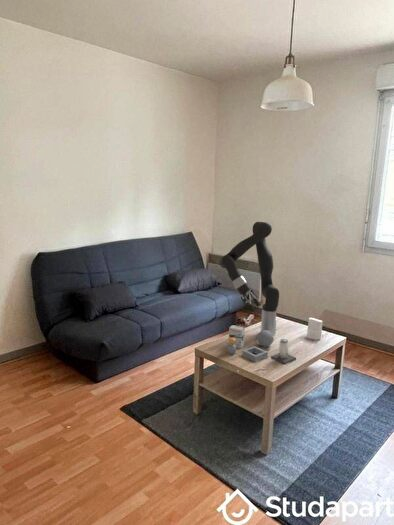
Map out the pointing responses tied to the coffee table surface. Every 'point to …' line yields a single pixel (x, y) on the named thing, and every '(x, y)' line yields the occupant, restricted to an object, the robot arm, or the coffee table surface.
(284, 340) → the cylinder
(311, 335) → the white upright block
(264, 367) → the coffee table surface
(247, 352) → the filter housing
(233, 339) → the plunger
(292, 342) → the coffee table surface
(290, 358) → the rubber mat
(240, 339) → the ink box
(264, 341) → the decorative stone
